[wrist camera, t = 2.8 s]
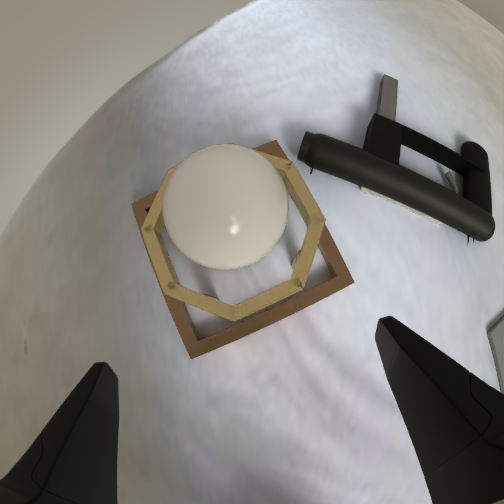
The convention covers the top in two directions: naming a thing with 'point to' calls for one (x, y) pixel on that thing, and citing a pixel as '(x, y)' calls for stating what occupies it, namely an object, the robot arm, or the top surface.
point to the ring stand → (316, 235)
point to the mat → (498, 349)
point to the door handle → (405, 180)
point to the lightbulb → (225, 207)
